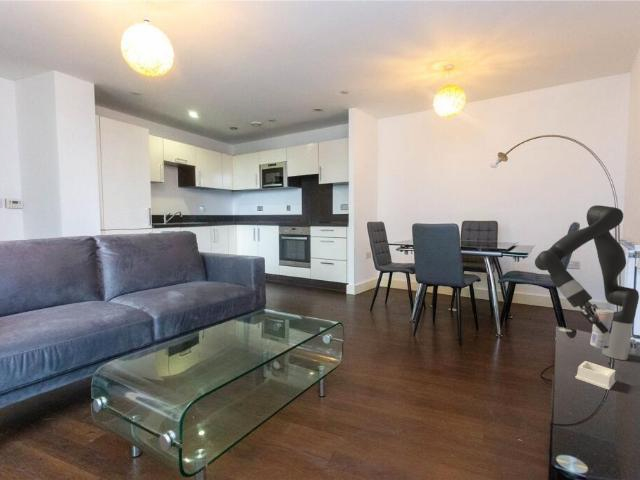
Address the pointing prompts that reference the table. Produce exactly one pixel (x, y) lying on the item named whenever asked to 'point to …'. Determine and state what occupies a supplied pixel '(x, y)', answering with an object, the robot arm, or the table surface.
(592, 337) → the beverage can
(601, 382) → the can holder
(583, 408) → the table surface
